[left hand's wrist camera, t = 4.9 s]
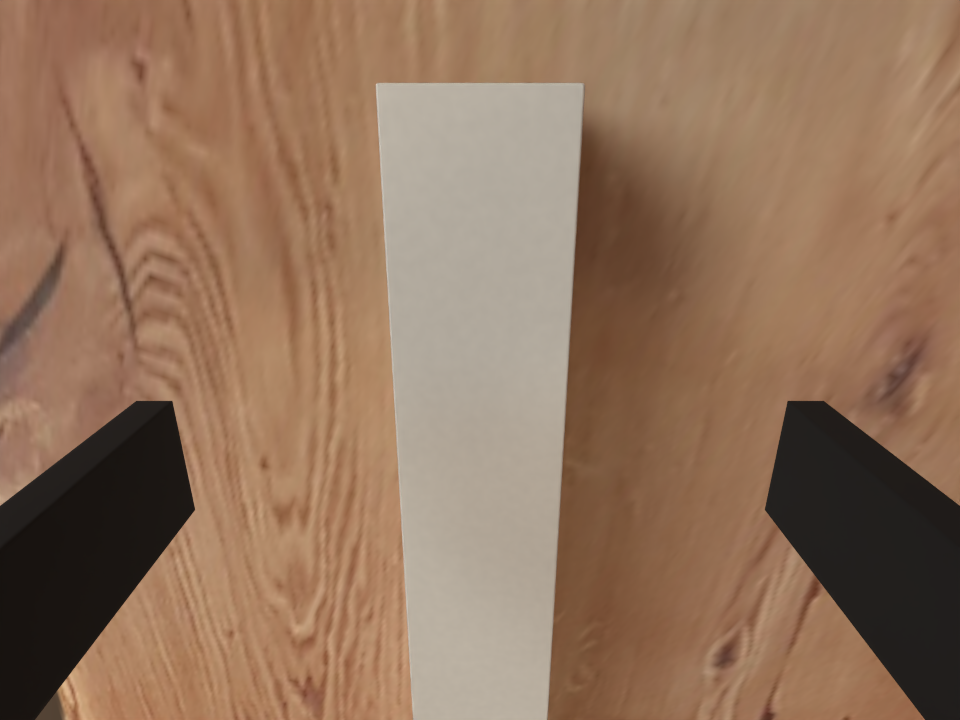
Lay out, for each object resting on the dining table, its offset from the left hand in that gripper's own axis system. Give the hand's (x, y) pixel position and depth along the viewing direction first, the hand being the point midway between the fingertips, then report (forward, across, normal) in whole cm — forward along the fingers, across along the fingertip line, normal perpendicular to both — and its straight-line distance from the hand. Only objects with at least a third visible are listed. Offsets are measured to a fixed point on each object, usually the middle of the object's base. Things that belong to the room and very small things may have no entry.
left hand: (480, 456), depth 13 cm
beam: (+14, 0, -30) cm, 33 cm away
